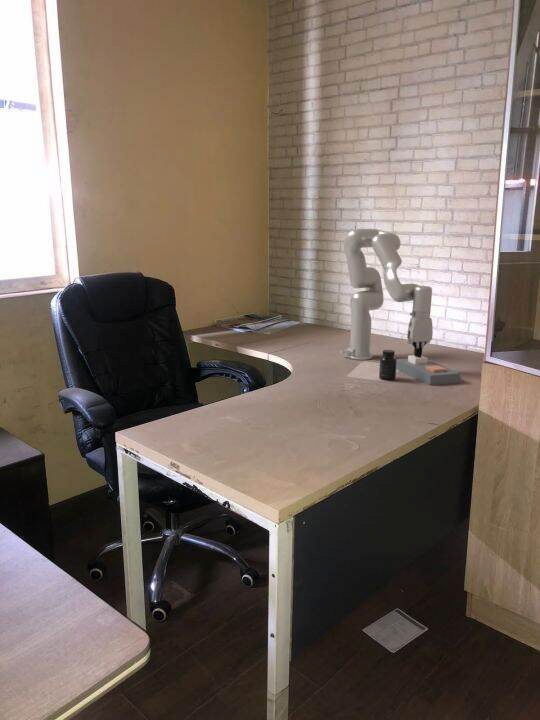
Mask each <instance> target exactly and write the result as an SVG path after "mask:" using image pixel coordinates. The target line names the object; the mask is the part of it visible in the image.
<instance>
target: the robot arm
mask: <svg viewBox="0 0 540 720" xmlns="http://www.w3.org/2000/svg"><path fill="white" fill-rule="evenodd" d="M362 248H372V249H373V251H374V253H375V255H376V257H377V258H378V260H379V262H380V264H381V266H382V267H383V283H384V286H385V288H386V290H387V293H388V294H389V296H390V297H391V299H392V300H393V301H394V302H397V303H403V302H412V311H411V312H410V313H409V316H411V317H410V318H409V322H408V328H407V333H406V335H407V336H406V337H407V344H409V345H412V346H413V348H414V349H413V351H414V352H413V355H414V356H416V357H421V355H422V356H423V349H424V348H425V346H426V344H429V343H431V341H432V340H433V334H434V333H433V329H434V328H433V326H434V325H433V319H432V317H431V311H432V310H431V309H432V299H433V288H432V286H429V285H419V284H417V283H401V281H400V279H399V277H398V275H397V273H398V272H397V269H398V268H399V267H400V266H401V265H402V262H403V261H402V258H401V256H400V254H399V253H398V250H399V249H400V248H401V239H400V238H399V236H398V235H397V233H396V234H395V233H392V232H388V231H385V230H380V229H377V228H356V229H353V230H350V231H349V232H348V233H347V234H346V235H345V238H344V241H343V249H344V250H343V251H344V253H345V258H346V261H347V270H348V276H349V277H348V278H349V282H350V285H351V286H352V288H354V289H365V290H359V291H356V292H354V293H353V294H352V295H351V297H350V300H349V306H350V317H351V319H350V336H349V337H350V339H349V346H348V347H347V348H346V349H340V354H342V355H343V354H345V357H346V358H348V359H351V360H357V361H359V360H360V361H363V360H371V359H373V357H374V356H373V354H372V353H370V352H371V340H372V339H371V338H372V317H371V314H370V311H374V310H375V311H376V310H378V309H380V308H381V307H382V306H383V305H384V299H385V298H384V292H383V284H382V277H381V275H380V272H379V271H378V270H377V269H376V268H375V267H372V266H370V267H369V266H368V267H367V261H366V257H365V254H364V253H363V251H362Z"/></svg>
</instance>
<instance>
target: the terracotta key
mask: <svg viewBox="0 0 540 720" xmlns="http://www.w3.org/2000/svg"><path fill="white" fill-rule="evenodd" d="M425 369H426V370H428V371H430V372H433V373H436V372H446V368H443V367H441V366H438V365H436V366H426V368H425Z"/></svg>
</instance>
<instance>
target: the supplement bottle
mask: <svg viewBox="0 0 540 720" xmlns="http://www.w3.org/2000/svg"><path fill="white" fill-rule="evenodd" d="M395 354H396V353H395V350H393V349H383V350H382V356H380V358H379V370H378V371H379V374H378V377H379V380H381V381H385V380H386V381H388V382H389V381H390V382H391V381H394V380H396V377H397V369H396V364H397V357H395ZM386 381H385V382H386Z"/></svg>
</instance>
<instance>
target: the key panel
mask: <svg viewBox="0 0 540 720" xmlns="http://www.w3.org/2000/svg"><path fill="white" fill-rule="evenodd" d="M396 359H397V358H396ZM436 365H438V366H441V367H443V368H446V372H436V373H433V372H430V371H428V370H426V369H425V368H426V366H436ZM396 370H398V371H400V372H402V373H403V374H406V375H408V374H409V375H408V376H410V377H411V378H412V377H413V379H416V380H418V381H421V382H422V383H425V384H426V385H429V386H436V385H448V384H449V383H450V384H459V383H458V382H460V380H461V373H460V372H459V371H457V370H454V369H451V368H449V367H447V366H443V365H441V364H440V363H437V362H434V361H433V360H429V359H428V361H427V364H413V363H410V362H408V358H398V359H397V364H396ZM450 384H449V385H450Z"/></svg>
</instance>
